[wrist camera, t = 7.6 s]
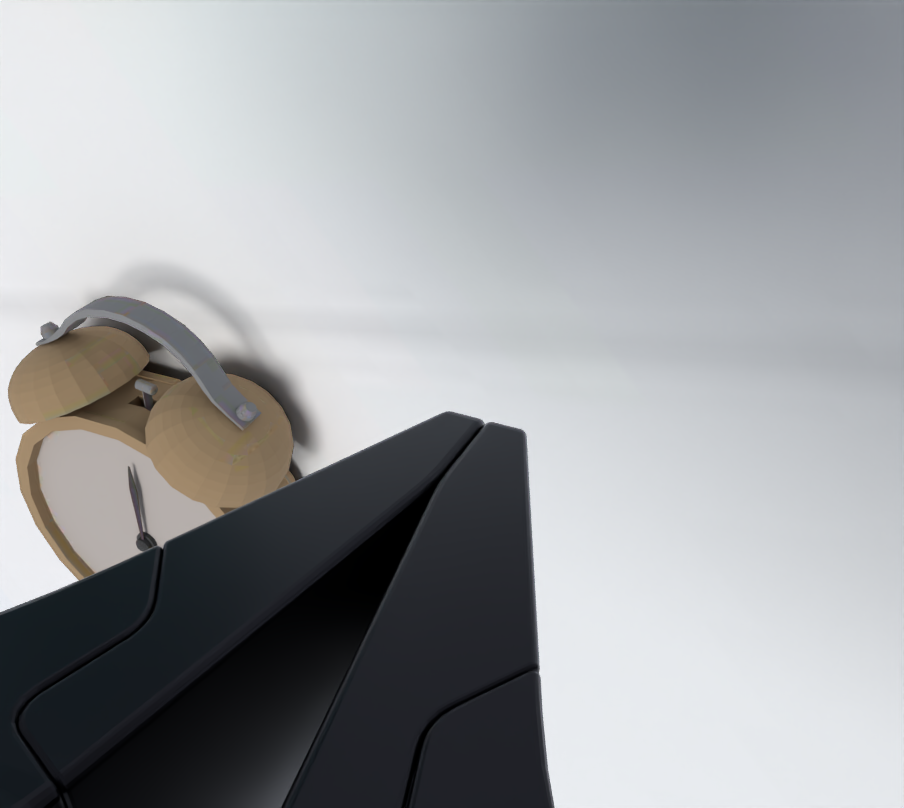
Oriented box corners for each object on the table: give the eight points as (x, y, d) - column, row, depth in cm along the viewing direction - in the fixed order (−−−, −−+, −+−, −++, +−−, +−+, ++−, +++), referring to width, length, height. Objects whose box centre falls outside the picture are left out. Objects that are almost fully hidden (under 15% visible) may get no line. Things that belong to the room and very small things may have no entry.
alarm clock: (52, 590, 35) (-88, 303, 24) (132, 509, 38) (39, 226, 28) (277, 705, 32) (226, 433, 21) (343, 606, 35) (326, 329, 25)
